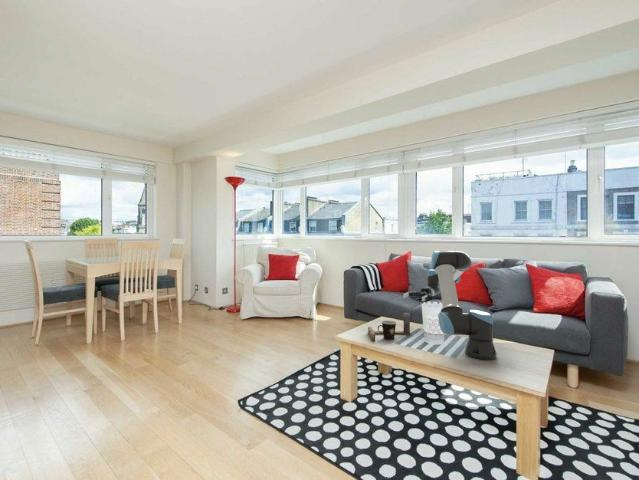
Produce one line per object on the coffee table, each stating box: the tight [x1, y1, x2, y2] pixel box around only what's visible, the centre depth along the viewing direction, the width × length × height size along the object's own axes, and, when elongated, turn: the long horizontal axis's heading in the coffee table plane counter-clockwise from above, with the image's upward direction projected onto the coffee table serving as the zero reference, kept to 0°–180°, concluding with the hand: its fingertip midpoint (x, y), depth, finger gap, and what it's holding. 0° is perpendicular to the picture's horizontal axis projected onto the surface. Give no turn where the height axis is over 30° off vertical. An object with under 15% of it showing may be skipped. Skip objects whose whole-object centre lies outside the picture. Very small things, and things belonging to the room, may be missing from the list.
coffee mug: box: [377, 320, 397, 341], centre depth 202 cm, size 12×9×10 cm
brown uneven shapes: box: [367, 312, 411, 342], centre depth 205 cm, size 17×27×13 cm, turn 90°
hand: (412, 297), depth 216 cm, fingers open, 13 cm apart
